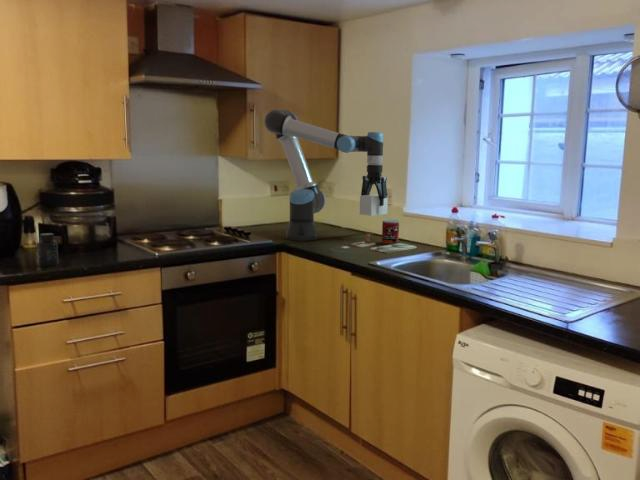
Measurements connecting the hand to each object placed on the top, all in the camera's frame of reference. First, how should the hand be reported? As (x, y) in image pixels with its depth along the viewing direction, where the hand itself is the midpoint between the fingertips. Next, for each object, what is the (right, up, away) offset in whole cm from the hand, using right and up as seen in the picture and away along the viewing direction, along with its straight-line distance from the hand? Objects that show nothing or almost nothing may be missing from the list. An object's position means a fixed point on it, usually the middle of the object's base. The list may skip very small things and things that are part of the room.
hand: (373, 211), depth 298 cm
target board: (+7, -18, -23) cm, 30 cm away
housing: (0, -1, 0) cm, 1 cm away
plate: (-6, -16, -15) cm, 23 cm away
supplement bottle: (-128, -24, -68) cm, 147 cm away
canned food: (+7, -16, -10) cm, 20 cm away
